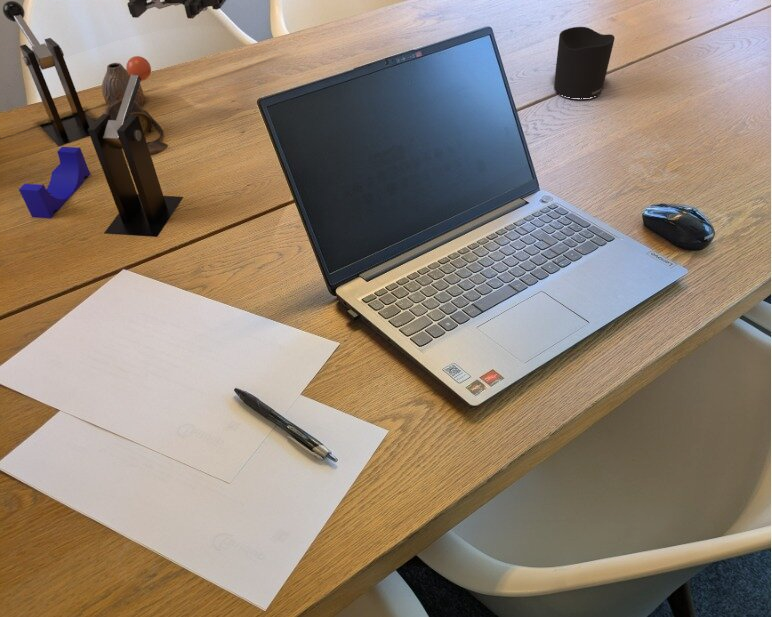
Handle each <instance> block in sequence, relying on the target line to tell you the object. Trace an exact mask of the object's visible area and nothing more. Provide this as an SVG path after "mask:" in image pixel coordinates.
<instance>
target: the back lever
mask: <svg viewBox="0 0 772 617" xmlns="http://www.w3.org/2000/svg"><path fill="white" fill-rule="evenodd" d="M2 13H3V15H4V17H5V18H6V19H7V20H8V21H10V22H14V23H16V24H17V26H18V27H19V29H20V30H21V32H22V33H23V35H24V36H25V38H26V39H27V41H28V42H29V44H30V46H31V47H30V49H31V50H32V51H33V52H34V54H35V56H36V59H37V61H38V64H39V66H40V69H41V71H42V70H43V71H44V70H46V69H51V68H55V62H54V58H53V55H52V53H51V52H50V50H49V49H48V47H47V45H46V42H44V43H40V42H39V40H38V39H37V37H36V35H34V32H33V31H32V30H31V28H30V26H29V24H28V23H27V22H26V20H25V19H24V18H25V14H26V13H25V9H24V6H22V4H21V3H19V2H17V1H15V0H8V1H6V2H5V3H3V6H2Z"/></svg>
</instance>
